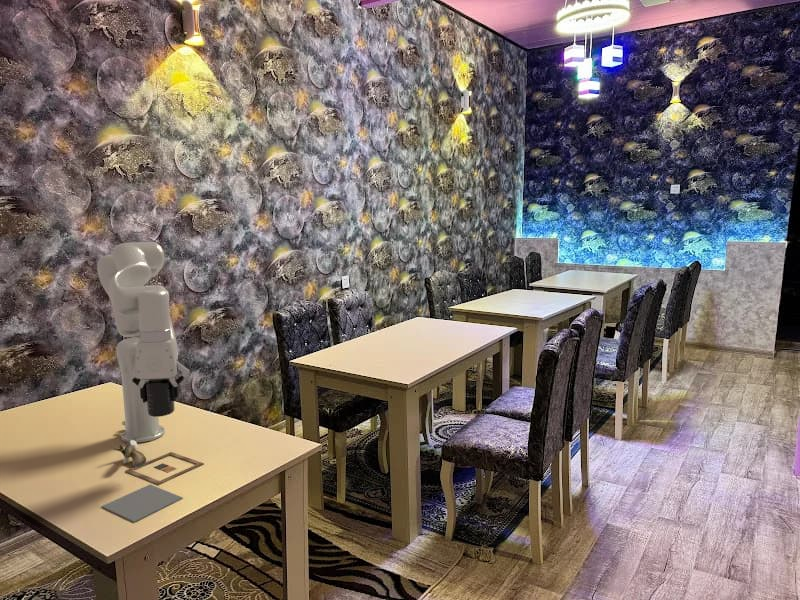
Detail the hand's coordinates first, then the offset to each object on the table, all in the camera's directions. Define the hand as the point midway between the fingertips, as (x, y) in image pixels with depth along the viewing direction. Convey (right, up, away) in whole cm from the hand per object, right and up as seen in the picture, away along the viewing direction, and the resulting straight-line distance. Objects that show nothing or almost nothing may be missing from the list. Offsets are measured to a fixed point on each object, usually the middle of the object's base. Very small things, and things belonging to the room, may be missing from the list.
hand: (160, 399), depth 156 cm
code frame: (0, -19, +3) cm, 20 cm away
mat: (+2, -22, -16) cm, 27 cm away
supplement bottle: (0, -4, +1) cm, 4 cm away
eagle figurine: (-11, -19, +6) cm, 23 cm away
